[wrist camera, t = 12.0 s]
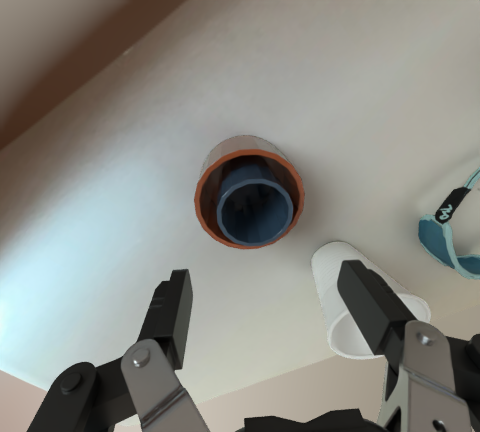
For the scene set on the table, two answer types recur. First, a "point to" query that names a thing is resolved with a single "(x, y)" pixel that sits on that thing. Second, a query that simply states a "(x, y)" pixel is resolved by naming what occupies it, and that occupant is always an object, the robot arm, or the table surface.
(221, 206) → the slate cup
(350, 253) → the cup
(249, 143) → the terracotta cup
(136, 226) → the table surface
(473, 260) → the sunglasses
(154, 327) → the robot arm
